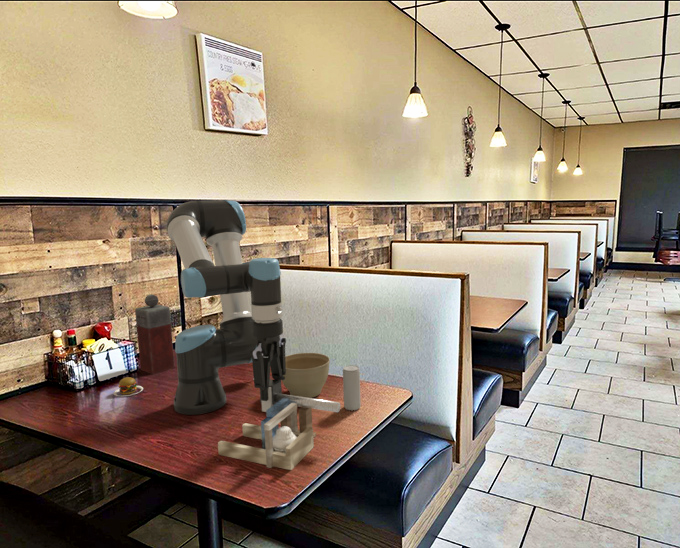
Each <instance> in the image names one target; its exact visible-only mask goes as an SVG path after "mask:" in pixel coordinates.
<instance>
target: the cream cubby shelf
mask: <svg viewBox="0 0 680 548" xmlns="http://www.w3.org/2000/svg"><path fill="white" fill-rule="evenodd" d="M288 406H289V405H288ZM284 409H285V408H284ZM312 410H313V409H312V408H306V407H300V408H299V409H298V421H299V422H298V423H299V424H298V427H299V429H298V433H302V432H303V431H305V430H306V429H307V428H308V427H313V413H312V412H313V411H312ZM280 412H281V411H280ZM280 412H279V413H280ZM282 426H287V427H289V428H290V429H291V416H290V414H289V415H288V416H287V417H286V418H285V419H283V420H282V421H281V422H280V427H282ZM316 436H317V432H314V431H313V438H316Z"/></svg>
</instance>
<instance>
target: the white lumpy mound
mask: <svg viewBox="0 0 680 548" xmlns="http://www.w3.org/2000/svg"><path fill="white" fill-rule="evenodd" d="M296 438H297V437H296V435H295V434H293V432H292V431H291V429H290V428H289V427H287V426H282V427H281V426H280V427H279V428H278V429H277V431H276V434H275V435H274V436H273V448H274V450H273V451H276V452H281V453H286V447H287V446H288V445H290V444H291V443H292V442H293V441H294V440H295V439H296Z"/></svg>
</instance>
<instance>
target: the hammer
mask: <svg viewBox="0 0 680 548" xmlns="http://www.w3.org/2000/svg"><path fill="white" fill-rule="evenodd" d="M269 387H271V390H272V407H270V408H269V409H267V410H266V412H265V413H266V414H265V415H266V417H265V418H263V419H262V420H261V421H260V426H261V432H262V440H261V445H262V446H261V449H266V447H265V430H264V424H265V423H267V422H268V421H269V420H271V419H272V418H273V417H274V416H276V415H277V414H278V413H280V411H282V410H283V409H284V408H286V407H287V406H288V405H290V404H291V403H297V407H300V408H302V407H306V408H311V409H312V410H314V409H315V410H318V411H319V410H320V411H327V412H333V413H339V412H340V410H341V406H342V405H341V402H340V401H333V400H326V399H320V398H319V399H318V398H314V397H313V398H306V397H299V396H293V395H290V394H284V393H283V392H282V388H281V387H282V380H281V381H280V380H274V379H273V378H272V379H271V378H270V381H269ZM259 398H260V404H262V402H261V391H260V390H259ZM278 428H280V427H279V423H278V424H277V425H276V426H275V427H274V428H272V437H273V436H274V435H275V434H276V431H277V429H278ZM273 451H275V450H274V448H273Z"/></svg>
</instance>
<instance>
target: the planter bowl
mask: <svg viewBox="0 0 680 548" xmlns="http://www.w3.org/2000/svg"><path fill="white" fill-rule="evenodd" d="M285 360H286V374H285V375H283V376H284V377H285V379H284V380H281V383H282V384H283V386H284V387H285V389H287V390H288V391H289V395H293V396H299V397H306V398H313V399H314V398H315V397H317V396H319V395H320V394H321V392H322V390H323V388H324V385H325V384H326V381H327V379H328V377H329V372H330V363H331V362H330V361H331V359H330V357H329V356H327V355H326V354H322V353H318V352H300V353H299V352H298V353H292V354H289V355H285ZM281 370H282V369H281Z"/></svg>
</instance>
